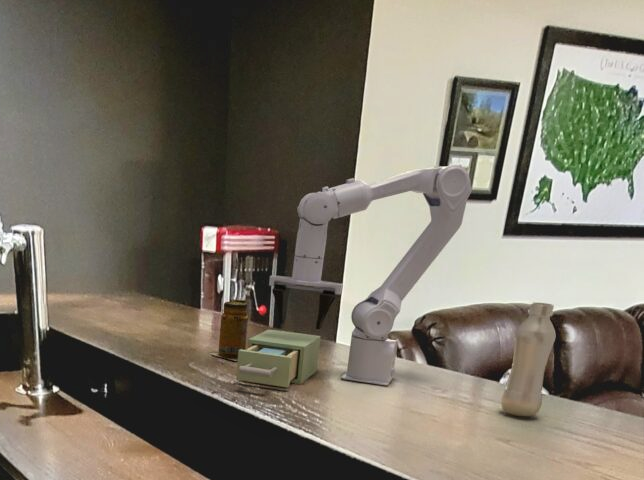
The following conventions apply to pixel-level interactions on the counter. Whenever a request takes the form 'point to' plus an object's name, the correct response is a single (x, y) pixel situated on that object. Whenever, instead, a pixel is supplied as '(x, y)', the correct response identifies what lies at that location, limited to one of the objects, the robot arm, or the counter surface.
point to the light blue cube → (272, 351)
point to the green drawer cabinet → (293, 341)
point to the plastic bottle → (529, 361)
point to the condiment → (232, 330)
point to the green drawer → (267, 365)
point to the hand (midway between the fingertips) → (300, 325)
